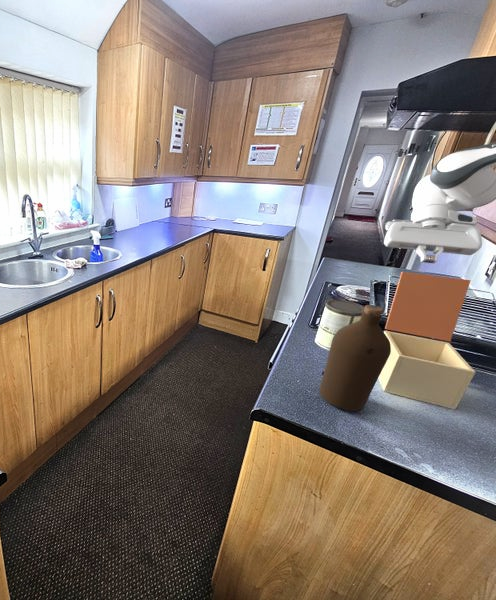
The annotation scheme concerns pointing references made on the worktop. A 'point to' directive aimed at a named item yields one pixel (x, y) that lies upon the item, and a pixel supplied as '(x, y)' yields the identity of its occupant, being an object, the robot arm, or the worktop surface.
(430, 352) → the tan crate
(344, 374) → the brown bottle
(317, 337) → the coffee can
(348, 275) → the worktop surface
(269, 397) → the worktop surface
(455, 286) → the lid
